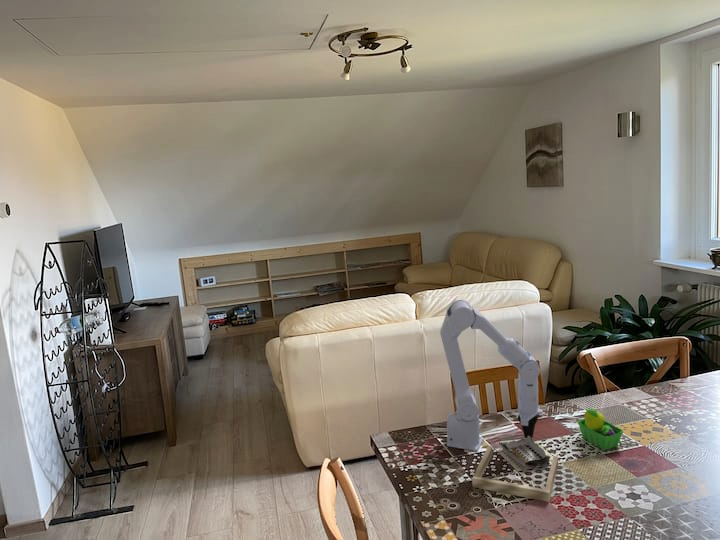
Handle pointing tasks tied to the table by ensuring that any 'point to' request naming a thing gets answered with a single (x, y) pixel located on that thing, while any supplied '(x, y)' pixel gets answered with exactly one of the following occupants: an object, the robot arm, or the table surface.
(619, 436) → the fruit basket
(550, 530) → the table surface
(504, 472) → the table surface
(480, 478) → the frame
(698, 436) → the table surface
